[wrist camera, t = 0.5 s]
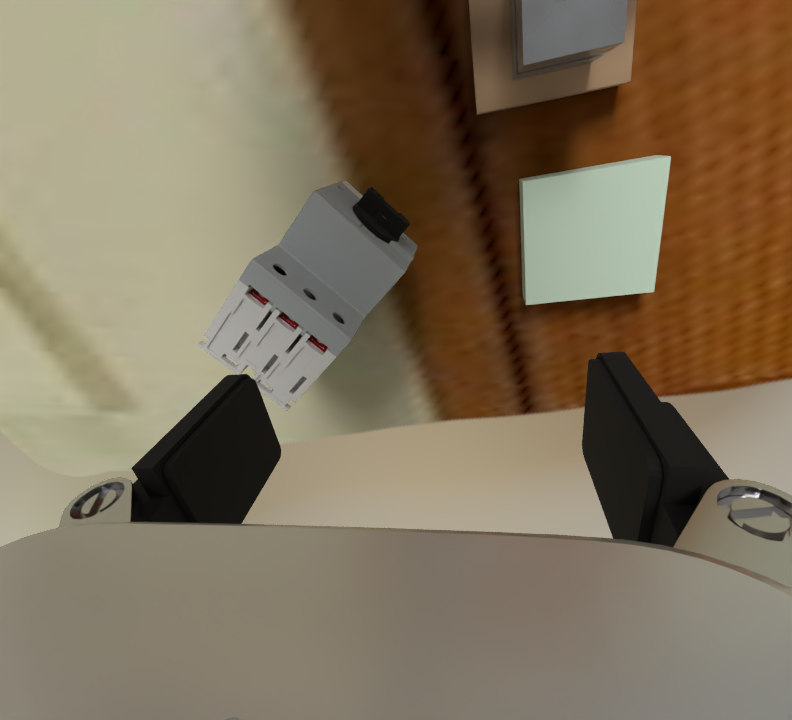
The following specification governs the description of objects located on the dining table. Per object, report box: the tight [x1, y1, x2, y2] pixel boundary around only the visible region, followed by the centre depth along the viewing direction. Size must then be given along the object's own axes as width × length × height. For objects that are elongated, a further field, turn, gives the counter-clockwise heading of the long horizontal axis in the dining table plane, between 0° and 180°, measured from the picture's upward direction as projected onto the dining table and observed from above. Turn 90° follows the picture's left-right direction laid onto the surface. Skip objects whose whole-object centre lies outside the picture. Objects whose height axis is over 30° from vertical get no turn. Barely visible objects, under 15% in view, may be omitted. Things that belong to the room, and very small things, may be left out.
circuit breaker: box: [198, 181, 418, 411], centre depth 31 cm, size 8×14×15 cm, turn 140°
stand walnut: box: [468, 0, 637, 116], centre depth 26 cm, size 10×10×2 cm
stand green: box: [519, 155, 671, 305], centre depth 32 cm, size 10×10×2 cm
